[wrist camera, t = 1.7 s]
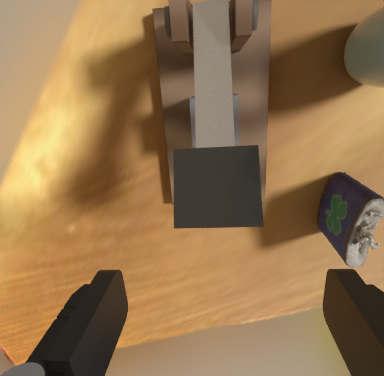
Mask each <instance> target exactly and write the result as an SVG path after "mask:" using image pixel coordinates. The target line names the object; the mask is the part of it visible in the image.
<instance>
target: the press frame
mask: <svg viewBox="0 0 384 376" xmlns="http://www.w3.org/2000/svg"><path fill="white" fill-rule="evenodd" d="M271 1H272V0H231V1H228V6H229V28H230V49H231V71H232V93H233V115H234V137H235V146H247V145H258V146H259V163H260V180H261V196H262V202H265V184H266V154H267V123H268V92H269V62H270V31H271ZM153 19H154V29H155V39H156V48H157V58H158V68H159V78H160V87H161V97H162V107H163V117H164V127H165V136H166V146H167V156H168V166H169V175H170V185H171V195H172V205H173V204H174V166H173V149H186V148H196V131H195V85H194V38H193V5H191V3H190V0H169V6H165V7H164V8H155V9H153Z"/></svg>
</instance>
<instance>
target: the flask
mask: <svg viewBox="0 0 384 376" xmlns="http://www.w3.org/2000/svg"><path fill="white" fill-rule="evenodd" d="M383 216H384V198H383V197H382V196H380V195H378V194H376V193H375V192H374V191H372V190H370V189H369V188H368V187H366V186H364V185H362V184H361V183H360V182H358V181H357V180H355V179H353V178H352V177H350V176H349V175H347V174H346V173H342V172H337V173H334V174H333V175H332V176H331V178H330V179H329V180H328V183H327V185H326V187H325V189H324V192H323V194H322V198H321V203H320V208H319V213H318V220H317V221H318V226H319V229H320V230H321V231H322V233H323V234H324V235H325V236H326V238H327V239H328V240H329V242H330V243H331V244H332V246H333V247H334V248H335V250H336V251H337V252H338V254H339V255H340V256H341V258H342V259H343V261H344V262H345V264H346V265H348V266H350V267H358V266H360V265H363V264H364V262H365V260H366V255H367V249H368V247H369V246H371V248H372V249H376V247H377V246H378V245H380V243H377V244H374V243H373V242H374V241H375V240H374V239H373V238H374V234H373V233H374V230H375V228H376V226H377V224H378V222H379V221H380V220H381V217H383Z"/></svg>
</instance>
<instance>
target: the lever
mask: <svg viewBox="0 0 384 376" xmlns="http://www.w3.org/2000/svg"><path fill="white" fill-rule="evenodd" d="M193 38H194V85H195V131H196V148H186V149H173V166H174V228H225V227H263V213H262V196H261V180H260V163H259V146H258V145H247V146H235V137H234V115H233V93H232V71H231V49H230V28H229V6H228V0H213V1H203V2H194V3H193Z"/></svg>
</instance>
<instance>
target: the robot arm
mask: <svg viewBox="0 0 384 376" xmlns="http://www.w3.org/2000/svg"><path fill="white" fill-rule="evenodd" d="M127 312H128V301H127V296H126V291H125V285H124V280H123V275H122V272H121V271H120V270H100V271H98V272H97V274H96V275H95V277H94V279H93V280H92V282H91V283H90V284H84V285H83V286H82V287H81V288H79V289H78V290H77V291H76V292H75V293H73V294H72V295H71V297H70V298H69V300H68V301H67V303H66V304H65V306H64V309H62V310H61V312H60V313H59V314H58V316H57V319H55V320H54V322H53V323H52V325H51V326H50V328H49V329H48V330H47V332H46V333H45V335H44V336H43V338H42V339H41V341H40V342H39V344H38V345H37V347H36V348H35V349H34V351H33V352H32V354H31V355H30V357H29V358H28V360H27V361H26V362H25V363H23V364H19V365H17V366H15V367H13V368H11V369H9V370H8V371H6V372H4V373H3V374H2V375H0V376H105V373H106V371H107V368H108V365H109V363H110V360H111V358H112V355H113V352H114V350H115V347H116V344H117V342H118V339H119V337H120V334H121V331H122V329H123V326H124V323H125V321H126V317H127ZM323 313H324V317H325V321H326V323H327V325H328V327H329V329H330V332H331V334H332V335H333V338H334V340H335V342H336V344H337V346H338V348H339V351H340V353H341V355H342V357H343V359H344V361H345V363H346V365H347V367H348V369H349V372H350V374H351V376H384V292H383V291H381V290H380V289H378V288H377V287H376V286H374V285H366V284H365V283H364V281H363V280H362V279H361V277H360V276H359V275H358V273H357V272H356V271H355V270H353V269H329V270H328V271H327V275H326V283H325V291H324V298H323Z"/></svg>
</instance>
